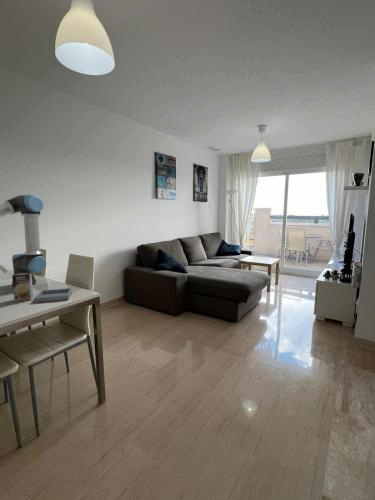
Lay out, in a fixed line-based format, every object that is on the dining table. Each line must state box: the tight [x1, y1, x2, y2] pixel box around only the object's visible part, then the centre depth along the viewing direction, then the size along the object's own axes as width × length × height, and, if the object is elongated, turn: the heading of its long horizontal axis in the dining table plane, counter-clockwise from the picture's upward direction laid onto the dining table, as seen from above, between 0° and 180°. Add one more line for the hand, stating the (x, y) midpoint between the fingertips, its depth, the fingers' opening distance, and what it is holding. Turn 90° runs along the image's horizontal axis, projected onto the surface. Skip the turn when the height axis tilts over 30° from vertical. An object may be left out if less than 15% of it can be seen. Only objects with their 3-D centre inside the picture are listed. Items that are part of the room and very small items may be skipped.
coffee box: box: [11, 273, 34, 303], centre depth 155 cm, size 9×6×16 cm
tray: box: [33, 287, 73, 304], centre depth 159 cm, size 16×18×3 cm
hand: (2, 274), depth 150 cm, fingers open, 13 cm apart
